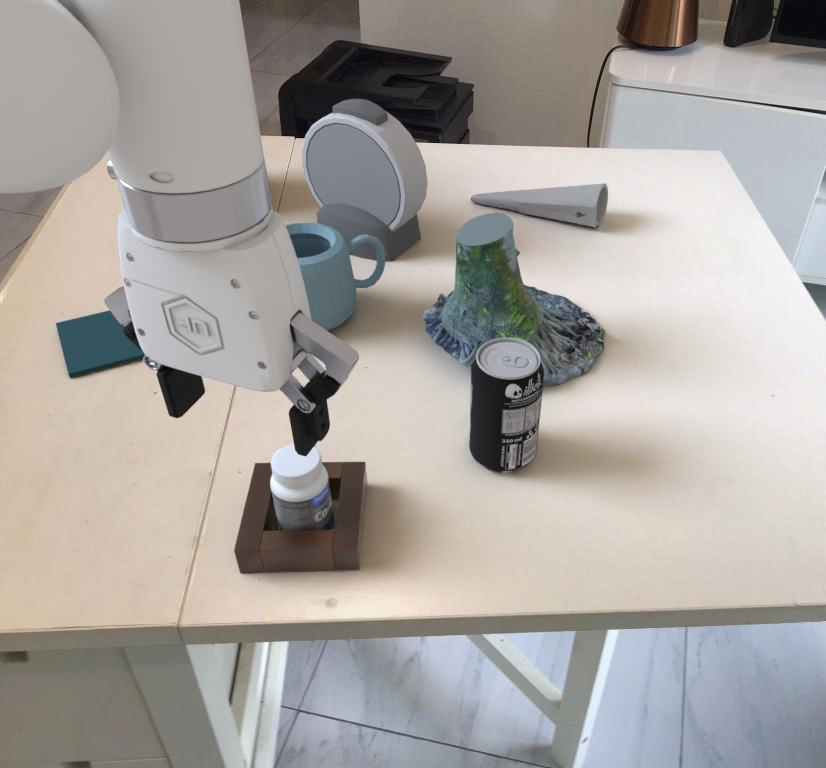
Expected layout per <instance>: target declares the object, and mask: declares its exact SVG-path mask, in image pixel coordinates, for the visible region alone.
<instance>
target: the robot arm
mask: <svg viewBox="0 0 826 768" xmlns="http://www.w3.org/2000/svg"><path fill="white" fill-rule="evenodd" d="M247 46H248V45H247V42H246V35H245V29H244V23H243V16H242V9H241V3H240V0H0V194H29V193H36V192H43V191H48V190H53V189H56V188H58V187H59V188H60V187H61V186H65V185H67V184H70V183H72V182H74V181H76V180H77V179H79V178H81V177H83V176H85V175H86V174H87V173H89V172H90V171H91V170H92V169H93V168H94V167H95V166H96V165H97V164H99V163H100V162H101V161H102V159H104V157H105V155H106V154H107V153H108V156H109V160H108V162H107V165H106V166H107V167H106V169H107V174H108V176H109V177H110V179H113V180H115V181H116V183H117V187H118V189H119V193H120V196H121V200H122V204H123V207H124V208H123V209H122V210H121V211H120V212H119V214H118V216H117V217H118V218H117V245H118V257H119V258H118V259H119V267H120V272H121V276H122V277H121V278H122V283H123V286H121V287H118V288H117V289H115V290H114V291H112V292H111V293H110V294H108V296H105V298H104V300H103V301H104V304H105V306H106V307H107V309H108V311H109V310H110V311H111V312H112V314H113V315H114V316H115V318H116V319H117V320H118V322H119V323H120V324H123V325H124V326H125V327H124V328H123V332H124V334H125V336H126V337H127V338H128V339H129V340H130V341H131V342H133V343H134V344H135V345H136V346H137V347H138V348H139V349H140V350H141V351H142V352H143V353H144V354H145V355H144V357H143V359H142V360H143V363H144V364H145V366H146V367H147V368H149V369H151V370H153V371H156V373H155V375H156V378H157V381H158V384H159V387H160V390H161V395H162V397H163V400H164V404H165V406H166V410H167V413H168V416H169V417H172V418H174V419H180V418H182V417H183V416H185V414H186V413H188V412H189V410H190V409H191V408H193V406H194V405H195V404H196V403H197V402H198V401H199V400H200V399H201V398H202V397H203V396H204V395H205V393H206V388H205V383H204V381H203V378H205V379H206V378H207V379H210V380H213V381H217V382H220V383H224V384H227V385H231V386H236V387H238V388H243V389H247V390H251V391H255V392H263V393H272V392H276V391H279V390H280V391H281V392H282V393H283V394H284V395H285V397H286V398H287V399H288V400H289V401H290V402H291V403H292V404H293V405H292V406H290V408H289V411H288V417H289V423H290V429H291V435H292V440H293V443H294V447H295V451H296V452H297V454H299V455H302V456H307V455H308V454H309V452H310V451H311V450H312V448H313V447H316V445H317V443H318V442H322V441H323V440H324V439H325V438H326V437H327V435H328V433H329V431H330V428H331V420H330V413H329V407H328V406H329V405H328V399H331V398H332V397H333V396H335V395H336V394H337V393H338V391H339V390H340V389H341V387H342V386H343V385H344V383H345V382H347V380H348V378H349V376H350V375H351V374H352V371H353V370H354V368H355V366H356V365H357V363H358V361H359V359H360V354H359V352H358V350H356V349H355V348H353V347H351V346H350V345H349V344H347V343H346V342H344V341H343V340H342V339H340V338H339V337H337V336H336V335H334V334H333V333H331V332H329V331H327V330H325V329H324V328H322V327H321V326H319V325H318V324H317V323H315V322H314V321H312V319H311V314H310V308H309V303H308V298H307V294H306V289H305V285H304V281H303V277H302V273H301V269H300V266H299V263H298V259H297V256H296V253H295V250H294V247H293V244H292V241H291V238H290V236H289V233H288V230H287V228H286V226H285V225H286V223H285V221H284V219H283V216H282V214H281V213H279V212H277V211H275V210H274V209H273V203H272V197H271V191H270V184H269V178H268V171H267V166H266V159H265V155H264V147H263V142H262V135H261V129H260V122H259V116H258V110H257V104H256V98H255V91H254V85H253V78H252V72H251V66H250V60H249V59H250V58H249V54H248V53H249V52H248V48H247ZM317 359H318V360H319V361H320V362H321V363H323V364H324V366H325V368H324V367H323V366H322V365H321V364H320V363H319V362H318V360H317ZM297 368H298V369H299V371H300V372H301V373H302V374H303V375H304V376H305V378H306V379H308V381H307V383H306V384H305V385H304V386H303V385H302V383H300V381H299V380H298V379H297V378H296V377H295V375H294V374H293V373H294V371H296V369H297Z"/></svg>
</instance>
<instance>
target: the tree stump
mask: <svg viewBox="0 0 826 768" xmlns="http://www.w3.org/2000/svg"><path fill="white" fill-rule="evenodd" d="M455 242H456V243H455V271H454V272H455V273H454V287H453V290H452V291H451V292H450V293H449V294H448V295H447V296H446V295H444V294H443V293H439V295H438V297H437V298H436V300H437V301H436V302H435V303H434V304H433V305H431V306H429V307H428V308H426V309H425V310H424V312H423V314H422V319H423V321H424V322H425V325H424V326H423V328H424V329H425V331H426V332H427V334H429V336H430V338H431V340H432V342H433V343H435V344H436V346H438V347H440V348H441V349H443V350H444V351H445V353H447V354H448V355H450V356H452V357H453V358H454V359H456V360H457V361H459V362H460V363H461V364H462V365H464V366H466V367H468V368H470V369H471V367H472V364H473V362H474V360H475V359H476V355H477V351H478V349H479V348H480V347H481V346H482V345H483V344H484V343H486V342H488V341H490V340H493V339H497V338H517V339H521V340H524V341H526V342H528V343H530V344H532V345H533V346H534V347H535V348H536V349H537V350H538V352H539V354H540V357H541V363H542V365H543V368H544V381H543V387H545V386H558V385H561V384H563V383H564V382H566V381H568V380H570V379H573V378H578V377H580V376H583V375H585V374H588V372H589V371H590V370H591V369H592V367H593V365H594V364H595V363H596V362H597V360H598V359H599V357H600V356H601V354H602V353H603V352H604V349H605V344H604V339H605V336H606V330H605V329H604V328H603V327H601V326H600V324H599V323H598V322H597V321H596V319H595V318H593V317H592V316H591V314H590V313H589V312H588V311H586V310H585V309H584V308H582V307H580V306H579V305H578V304H576V303H575V302H573V301H571V300H570V299H569V298H568V297H566V296H563V295H559V294H554V293H549V292H548V291H545V290H542V289H538V288H537V287H535V286H529V285H526V284H524V281H523V277H522V274H521V269H520V264H519V260H518V257H519V255H520V254H521V251H519V250H518V248H517V247H516V244H515V237H514V221H513V220H512V217H510V216H509V215H507V214H506V213H504V212H490V213H489V212H488V213H484V214H481V215H478V216H476V217H473V218H471V219H470V220H468V221H466V222H465V223H464V224H463V225H461V227H460V228H459V229H458V231H457V232H456V241H455Z"/></svg>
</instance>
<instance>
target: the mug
mask: <svg viewBox="0 0 826 768" xmlns="http://www.w3.org/2000/svg"><path fill="white" fill-rule="evenodd" d="M285 226H286V228H287V230H288V233H289V236H290V238H291V241H292V244H293V247H294V250H295V253H296V256H297V259H298V263H299V266H300V269H301V273H302V277H303V281H304V285H305V289H306V294H307V298H308V303H309V308H310V314H311V319H312V321H314V322H315V323H317V324H318V325H319V326H321V327H322V328H324V329H325V330H327V331H328V332H329V331H332V330H334V329H335V328H337V327H339V326H340V325H342V324H343V323H344V322H345V321H347V320H348V319H349V318H350V317H351V316H352V314H353V313H354V312H355V309H356V301H357V289H368V288H370V287H372V286H374V285H375V284H377V283H378V282H379V280H381V277H382V276H383V273H384V270H385V267H386V261H385V250H384V247H383V245H382V243H381V241H380V240H379V239H378V238H376V237H374V236H371V235H367V234H365V235H359V236H358V237H356V238H354V239H353V240H352V241H351V242H350V243H349V244H348V245H346V242H345V240H344V239H343V237H342V235H341V234H340V233H339V232H338V231H337V230H335V229H333V228H332V227H329V226H326V225H323V224H317V222H295V223H294V222H293V223H288V224H285ZM364 243H369V244H371V245H373V247H374V248H375V251H376V255H377V260H376V264H375V269H374V270H373V272H372V274H371V275H370V276H369V277H367V278H365V279H358V278H355V275H354V271H353V265H352V262H351V261H352V260H351V256H352V255H351V254H352V253H353V252H354V251H355V250H356V249H357V248H358V247H359V246H360V245H362V244H364Z"/></svg>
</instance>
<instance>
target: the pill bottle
mask: <svg viewBox="0 0 826 768" xmlns="http://www.w3.org/2000/svg"><path fill="white" fill-rule="evenodd" d="M322 462H323V459H322V455H321V452H320V451H319V449H318V448H317V447H316V446H314V447H313V448H312V450H311V451H310V452H309V454H308V455H307V456H302V455H299V454H297V452H296V451H295V447H294V442H293V443H292V442H291V443H289V444H286V445H283V446H281V447H280V448H279V449H277V450H276V451H275V452H274V453H273V455H272V457H271V460H270V463H271V468H272V473H273V474H272V476H271V480H270V487H271V492H272V496H273V501H274V506H275V511H276V520H277V521H276V522H277V526H278V531H287V530H333V529H334V526H335V525H334V524H335V515H334V509H333V500H331V493H330V486H329V477H328V473H327V470H326V468H325V467H324V466H323V464H322Z"/></svg>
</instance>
